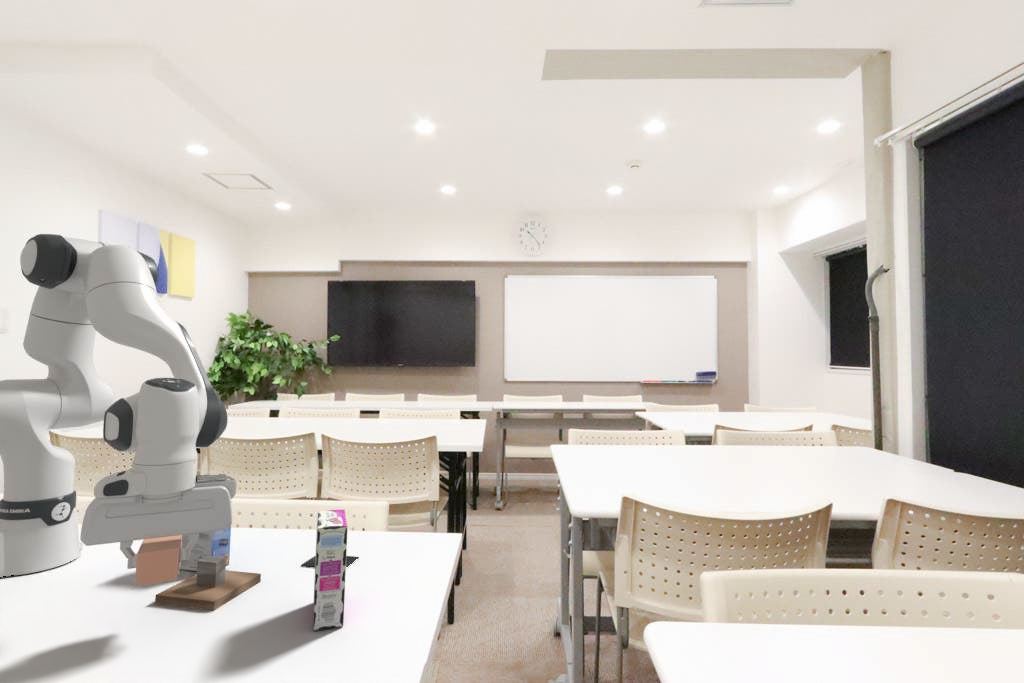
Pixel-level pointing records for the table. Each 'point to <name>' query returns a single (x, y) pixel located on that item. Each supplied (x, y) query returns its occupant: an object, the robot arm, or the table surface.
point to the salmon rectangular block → (158, 560)
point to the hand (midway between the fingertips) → (159, 563)
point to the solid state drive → (312, 561)
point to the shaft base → (208, 586)
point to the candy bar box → (330, 570)
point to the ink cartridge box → (207, 547)
